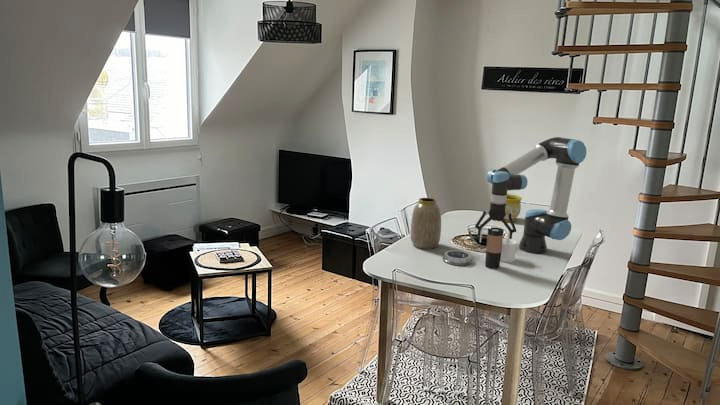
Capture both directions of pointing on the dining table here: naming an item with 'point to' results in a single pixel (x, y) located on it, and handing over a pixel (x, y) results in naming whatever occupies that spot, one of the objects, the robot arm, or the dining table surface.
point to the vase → (426, 224)
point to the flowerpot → (512, 206)
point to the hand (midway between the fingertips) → (493, 243)
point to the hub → (457, 258)
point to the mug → (508, 251)
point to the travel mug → (494, 248)
